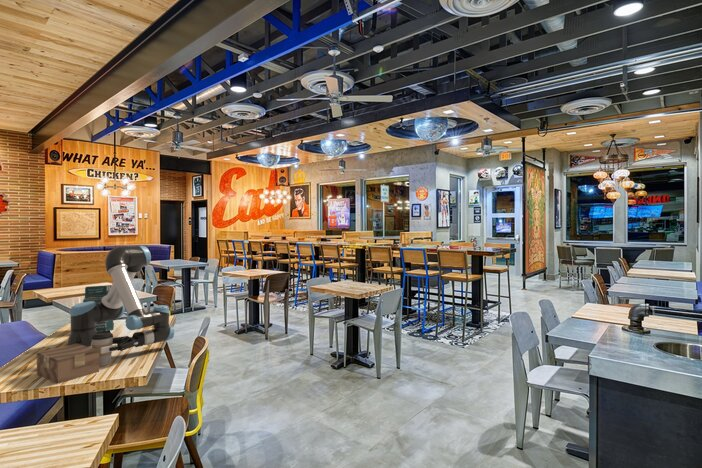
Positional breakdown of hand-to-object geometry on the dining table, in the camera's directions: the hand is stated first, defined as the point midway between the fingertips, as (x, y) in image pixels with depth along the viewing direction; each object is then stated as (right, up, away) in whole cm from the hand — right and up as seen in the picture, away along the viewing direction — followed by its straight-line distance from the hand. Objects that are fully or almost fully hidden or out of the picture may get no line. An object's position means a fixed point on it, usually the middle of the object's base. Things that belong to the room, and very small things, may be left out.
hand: (95, 348), depth 182 cm
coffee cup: (+2, -8, +2) cm, 9 cm away
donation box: (-41, -8, +64) cm, 76 cm away
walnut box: (-5, -8, -11) cm, 15 cm away
